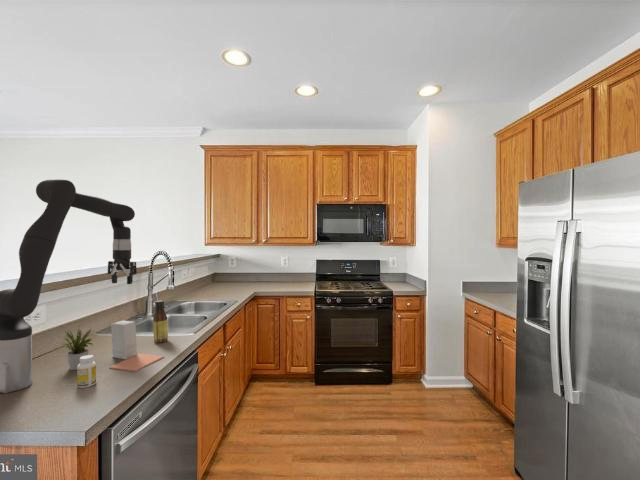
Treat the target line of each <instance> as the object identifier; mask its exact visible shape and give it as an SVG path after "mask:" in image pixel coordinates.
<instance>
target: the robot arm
mask: <svg viewBox="0 0 640 480" xmlns="http://www.w3.org/2000/svg"><path fill="white" fill-rule="evenodd" d="M35 193H36V196H37V197H38V199H39V200H41V202H44V203H46V208H45V209H44V211H43V212H42V214H41V215H40V216H39V217H38V218H37V219H36V221H34V222H33V223H32V224H31V226H29V228H27V230H26V232H25V233H24V235H23V239H22V241H21V243H20V246H19V251H18V258H19V265H20V275H19V278H18V281H17V284H16V286H15V288H12V289H11V288H8V289H7V288H6V289H2V290H1V291H0V393H1V394H7V393H10V392H15V391H19V390H22V389H25V388H27V387H30V386H31V385H32V384H33V328H32V325H31V324H29V323H28V322H27V321H26V320H25V318H26V317H28V316H29V315H31V314H32V313H33V312H34V311H35V310H36V308H37V306H38V303H39V299H40V296H41V291H42V287H43V281H44V278H45V276H46V272H47V269H48V266H49V262H50V260H51V257H52V256H53V252H54V250H55V247H56V243H57V241H58V238H59V235H60V232H61V229H62V227H63V224H64V222H65V219H66V217H67V215H68V213H69V211H70V209H71V207H72V208H75V209H78V210H83V211H86V212H89V213H92V214H96V215H99V216H102V217H108V218H109V221H110V224H111V227H112V228H111V229H112V231H113V233H112V234H113V236H112V237H113V239H112V259H113V260H109V261H108V262H107V274H108V275H110V276H111V282H112V283H111V284H117V283H118V273H119V272H120V271H121V272H124V273H125V274H126V284H127V285H132V284H133V281H134V280H133V277H134V276H135V275H137V274H138V273H137V272H138V271H137V261H131V259H132V240H131V237H132V234H131V228H130V227H129V226H125V223H124V222H131V221H132V220H133V219H134V218H135V217H136V216H135V215H136V214H135V210H134V209H133V208H132V207H131V206H129V205H127V204H121V203H116V202H113V201H110V200H107V199H105V198H101V197H98V196H93V195H88V194H84V193H79V192H77V190H76V186H75V184H74V183H73V182H72V181H70V180H68V179H61V178H60V179H59V178H58V179H54V178H53V179H46V180H42V181H41V182H39V183H37V185H36V189H35Z"/></svg>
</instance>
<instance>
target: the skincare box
mask: <svg viewBox="0 0 640 480" xmlns="http://www.w3.org/2000/svg"><path fill="white" fill-rule="evenodd" d="M110 325H111V328H110V329H111V349H112V354H111V355H112V358H116V359H120V360H127V359H129V358H132V357H134V356H136V355H138V349H137V330H136V329H137V328H136V321H134V320H133V321H132V320H123V319H122V320H120V321H116V322H113V323H110Z"/></svg>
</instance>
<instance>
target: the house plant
mask: <svg viewBox="0 0 640 480" xmlns="http://www.w3.org/2000/svg"><path fill="white" fill-rule="evenodd" d="M80 328H81V325H79V327H78V328H77V333H76V338H75V337H74V335H73V332H72V331H71V330H69V329H66V330H65V332H64V333H65V334H63V333H62V332H60V334H61V335H62V336H64V337H63V339H64V340H66V342H67V343H68V344H67V343H66V342H65V343H61V344H60V345H59V347H60V346H61V347H62V348H64V347H66V348H67V349H68V352H67V353H66V356H67V361H68V366H69V370H71V371H77V366H78V365H79V364H80V357H82V356H86V355H89V350H90V349H89V347H88V346H89V345H90V346H92V347H94V346H93V345H94V344H93V342H92V341H93V339H94V337H93V338H87V337H88V336H89V335H90V334H91V332H92V330H93V329H94V328H95V326H93V327H91V328H90V329H88V331H87V332H86V333H85V334H83V335H82V330H81V329H80ZM84 330H86V328H84ZM68 331H69V332H68ZM52 333H55V334H56V333H58V332H57V331H56V332H55V331H54V332H52ZM81 338H82V339H81Z"/></svg>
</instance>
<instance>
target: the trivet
mask: <svg viewBox="0 0 640 480" xmlns="http://www.w3.org/2000/svg"><path fill="white" fill-rule="evenodd" d="M164 358H165V356H164V355H159V354H158V355H157V354H149V353H142V352H141V353H137V355H136V356H134V357H131V358H128V359H124V360H122V361H120V362H118V363H115V364H113V365H111V366H109V369H112V370H119V371H127V372H134V373H135V372H137V371H140V370H142V369H143V368H145V367H147V366H149V365H151V364H154V363H155V362H159V360H162V359H164Z"/></svg>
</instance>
